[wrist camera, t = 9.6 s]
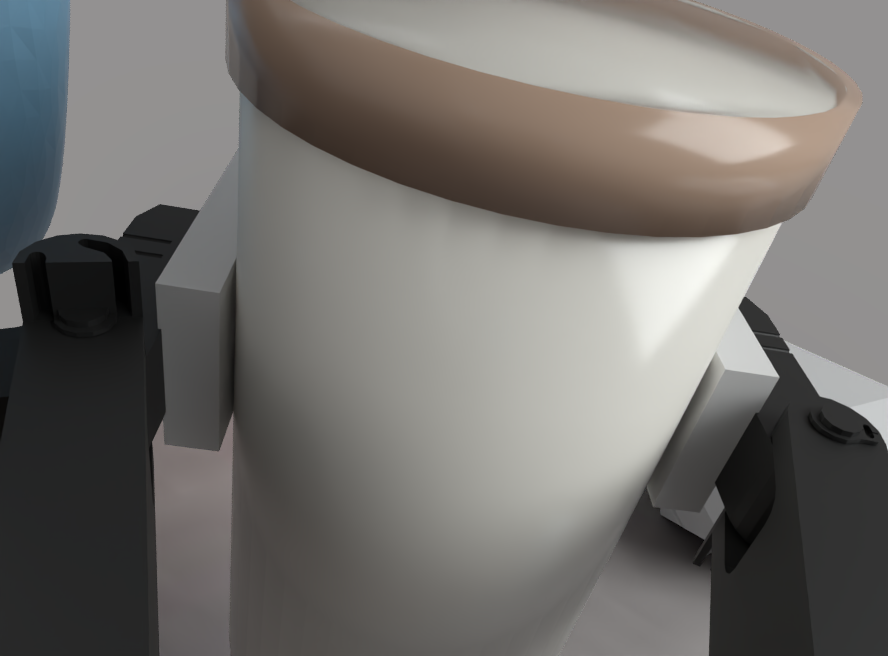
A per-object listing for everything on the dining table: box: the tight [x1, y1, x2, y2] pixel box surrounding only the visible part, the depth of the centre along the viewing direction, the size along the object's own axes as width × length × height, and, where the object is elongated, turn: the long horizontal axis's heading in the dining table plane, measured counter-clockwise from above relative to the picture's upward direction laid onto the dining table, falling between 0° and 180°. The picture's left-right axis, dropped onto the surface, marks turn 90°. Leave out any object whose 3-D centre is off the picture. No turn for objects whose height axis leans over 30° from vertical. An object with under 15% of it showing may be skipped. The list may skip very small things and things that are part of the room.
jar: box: [226, 0, 862, 656], centre depth 11 cm, size 7×7×12 cm
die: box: [660, 341, 888, 540], centre depth 26 cm, size 8×9×10 cm
